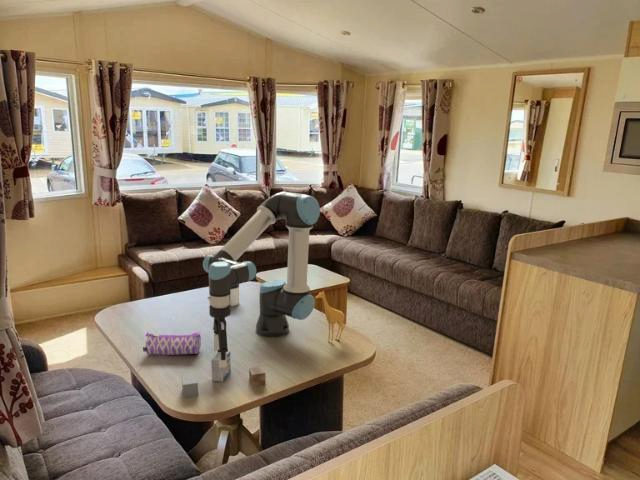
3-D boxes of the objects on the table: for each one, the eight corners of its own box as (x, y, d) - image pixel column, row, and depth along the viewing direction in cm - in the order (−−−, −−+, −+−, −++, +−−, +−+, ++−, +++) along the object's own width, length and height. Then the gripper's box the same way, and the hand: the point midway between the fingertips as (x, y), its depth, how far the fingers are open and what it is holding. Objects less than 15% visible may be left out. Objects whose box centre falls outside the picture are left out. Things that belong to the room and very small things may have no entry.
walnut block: (262, 378, 179) (262, 366, 177) (265, 385, 174) (265, 372, 173) (249, 380, 177) (249, 368, 176) (251, 387, 172) (251, 374, 171)
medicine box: (222, 382, 175) (222, 361, 173) (211, 380, 176) (211, 359, 173) (231, 371, 182) (230, 351, 180) (220, 370, 183) (219, 349, 181)
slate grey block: (196, 387, 171) (196, 375, 170) (198, 395, 166) (197, 382, 165) (182, 390, 169) (181, 377, 168) (183, 397, 165) (182, 384, 163)
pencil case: (143, 358, 190) (141, 337, 187) (149, 348, 199) (147, 327, 196) (199, 358, 192) (198, 336, 189) (202, 347, 201) (202, 326, 198)
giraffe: (317, 349, 202) (318, 294, 196) (311, 345, 206) (312, 290, 199) (347, 340, 211) (349, 287, 205) (341, 336, 215) (343, 284, 209)
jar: (239, 306, 245) (239, 284, 242) (223, 307, 243) (223, 285, 240) (238, 299, 254) (238, 278, 251) (223, 300, 252) (222, 279, 249)
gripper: (205, 293, 182) (206, 344, 187) (213, 318, 159) (214, 376, 164) (225, 292, 184) (225, 342, 189) (236, 316, 162) (236, 373, 166)
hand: (220, 358), depth 177 cm, fingers open, 13 cm apart
